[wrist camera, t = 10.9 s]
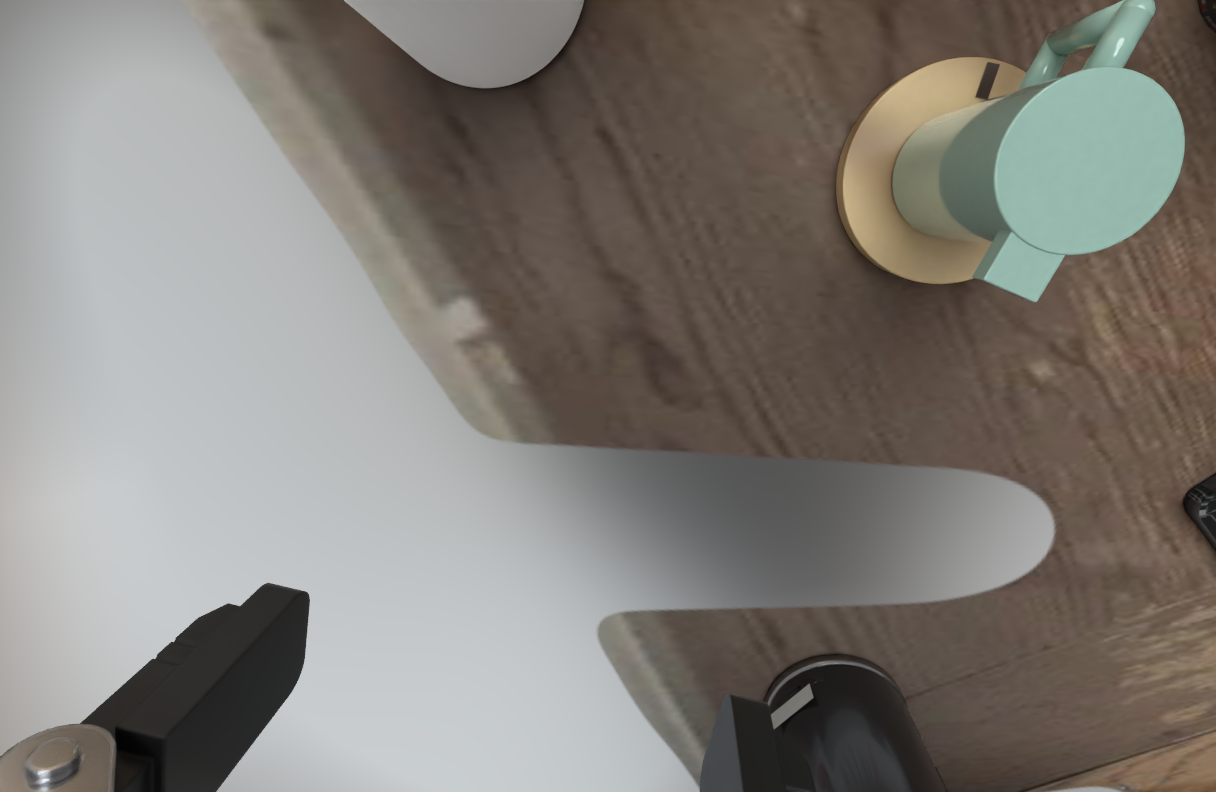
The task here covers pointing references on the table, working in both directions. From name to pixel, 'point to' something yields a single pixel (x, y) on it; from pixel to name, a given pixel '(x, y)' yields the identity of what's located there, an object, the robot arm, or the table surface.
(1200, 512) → the phone
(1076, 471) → the table surface
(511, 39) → the coffeepot
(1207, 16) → the deodorant
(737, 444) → the table surface
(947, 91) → the stand
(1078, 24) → the jug
